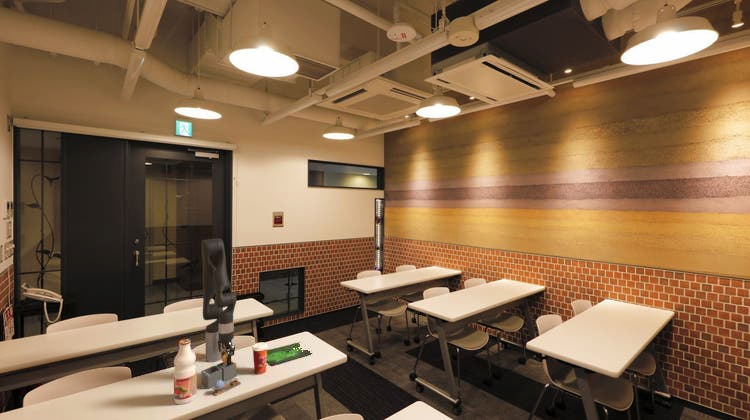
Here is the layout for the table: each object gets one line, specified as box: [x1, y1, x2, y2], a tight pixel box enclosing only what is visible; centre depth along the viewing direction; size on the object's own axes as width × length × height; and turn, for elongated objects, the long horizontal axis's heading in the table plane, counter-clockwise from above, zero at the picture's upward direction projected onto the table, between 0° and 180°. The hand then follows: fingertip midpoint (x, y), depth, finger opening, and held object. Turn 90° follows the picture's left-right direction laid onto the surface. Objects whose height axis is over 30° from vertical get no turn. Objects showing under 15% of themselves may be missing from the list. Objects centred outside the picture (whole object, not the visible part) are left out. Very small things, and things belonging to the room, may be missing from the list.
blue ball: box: [214, 380, 224, 390], centre depth 160 cm, size 4×4×4 cm
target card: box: [211, 377, 239, 390], centre depth 168 cm, size 4×12×1 cm, turn 144°
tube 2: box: [215, 359, 238, 382], centre depth 175 cm, size 7×7×7 cm
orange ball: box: [221, 354, 227, 362], centre depth 174 cm, size 4×4×4 cm
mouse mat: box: [266, 342, 313, 367], centre depth 202 cm, size 27×22×1 cm
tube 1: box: [200, 365, 222, 390], centre depth 168 cm, size 7×7×7 cm
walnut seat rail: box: [212, 380, 241, 397], centre depth 163 cm, size 3×13×2 cm, turn 144°
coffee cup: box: [251, 341, 269, 375], centre depth 180 cm, size 8×8×15 cm
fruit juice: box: [173, 338, 198, 405], centre depth 155 cm, size 9×9×28 cm
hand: (226, 361), depth 174 cm, fingers open, 4 cm apart
